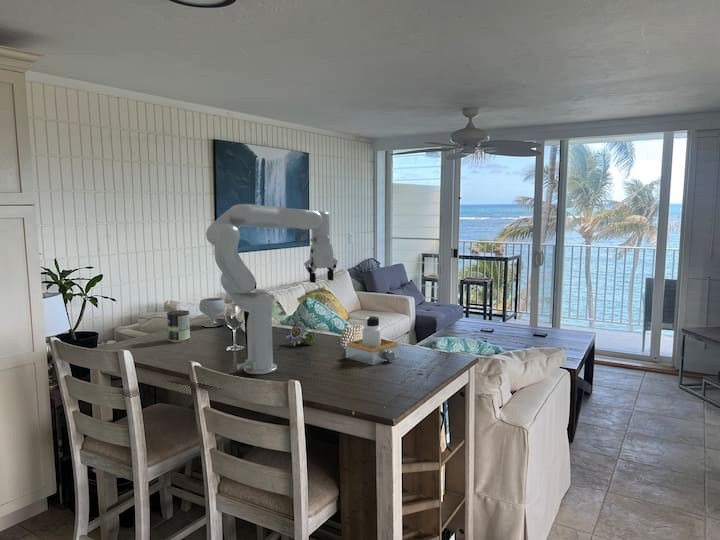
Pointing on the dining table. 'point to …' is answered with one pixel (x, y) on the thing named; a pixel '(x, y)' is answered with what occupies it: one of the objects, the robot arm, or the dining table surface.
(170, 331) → the coffee can
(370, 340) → the medicine bottle
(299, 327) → the passion flower
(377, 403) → the dining table surface
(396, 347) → the box
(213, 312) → the chalice
